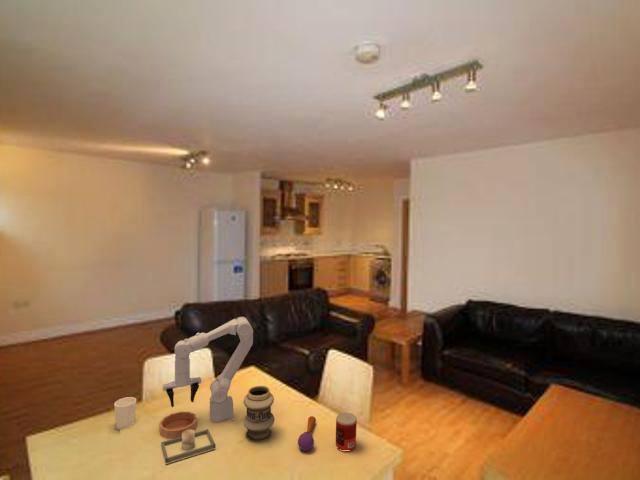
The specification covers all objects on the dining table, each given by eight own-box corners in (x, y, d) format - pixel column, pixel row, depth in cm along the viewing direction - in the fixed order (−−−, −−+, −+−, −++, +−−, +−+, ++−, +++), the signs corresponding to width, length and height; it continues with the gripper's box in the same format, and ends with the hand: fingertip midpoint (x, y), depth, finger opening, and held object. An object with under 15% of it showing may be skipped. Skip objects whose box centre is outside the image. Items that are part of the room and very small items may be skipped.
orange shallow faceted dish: (192, 417, 153) (192, 408, 153) (200, 434, 141) (200, 424, 141) (157, 426, 146) (157, 417, 146) (162, 444, 134) (162, 434, 134)
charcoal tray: (207, 434, 141) (207, 429, 141) (215, 450, 132) (215, 444, 132) (161, 447, 133) (161, 442, 133) (165, 465, 123) (165, 459, 123)
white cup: (127, 432, 142) (126, 407, 141) (109, 429, 143) (109, 405, 143) (140, 421, 149) (140, 398, 149) (124, 419, 151) (124, 395, 150)
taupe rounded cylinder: (191, 442, 135) (191, 428, 135) (196, 447, 132) (196, 433, 132) (179, 447, 132) (179, 432, 132) (185, 452, 129) (185, 438, 129)
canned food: (357, 442, 139) (358, 414, 138) (352, 454, 131) (353, 425, 131) (338, 437, 141) (339, 410, 141) (332, 449, 134) (333, 421, 133)
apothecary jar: (237, 434, 142) (237, 390, 141) (261, 422, 151) (261, 380, 150) (255, 447, 134) (256, 401, 133) (280, 434, 143) (280, 390, 142)
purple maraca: (320, 415, 150) (314, 440, 131) (317, 428, 150) (310, 456, 131) (306, 411, 151) (298, 435, 131) (303, 425, 151) (295, 451, 131)
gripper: (198, 364, 153) (198, 395, 154) (161, 371, 145) (161, 403, 146) (202, 370, 147) (202, 402, 148) (164, 377, 139) (164, 411, 140)
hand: (182, 403), depth 146 cm, fingers open, 7 cm apart
